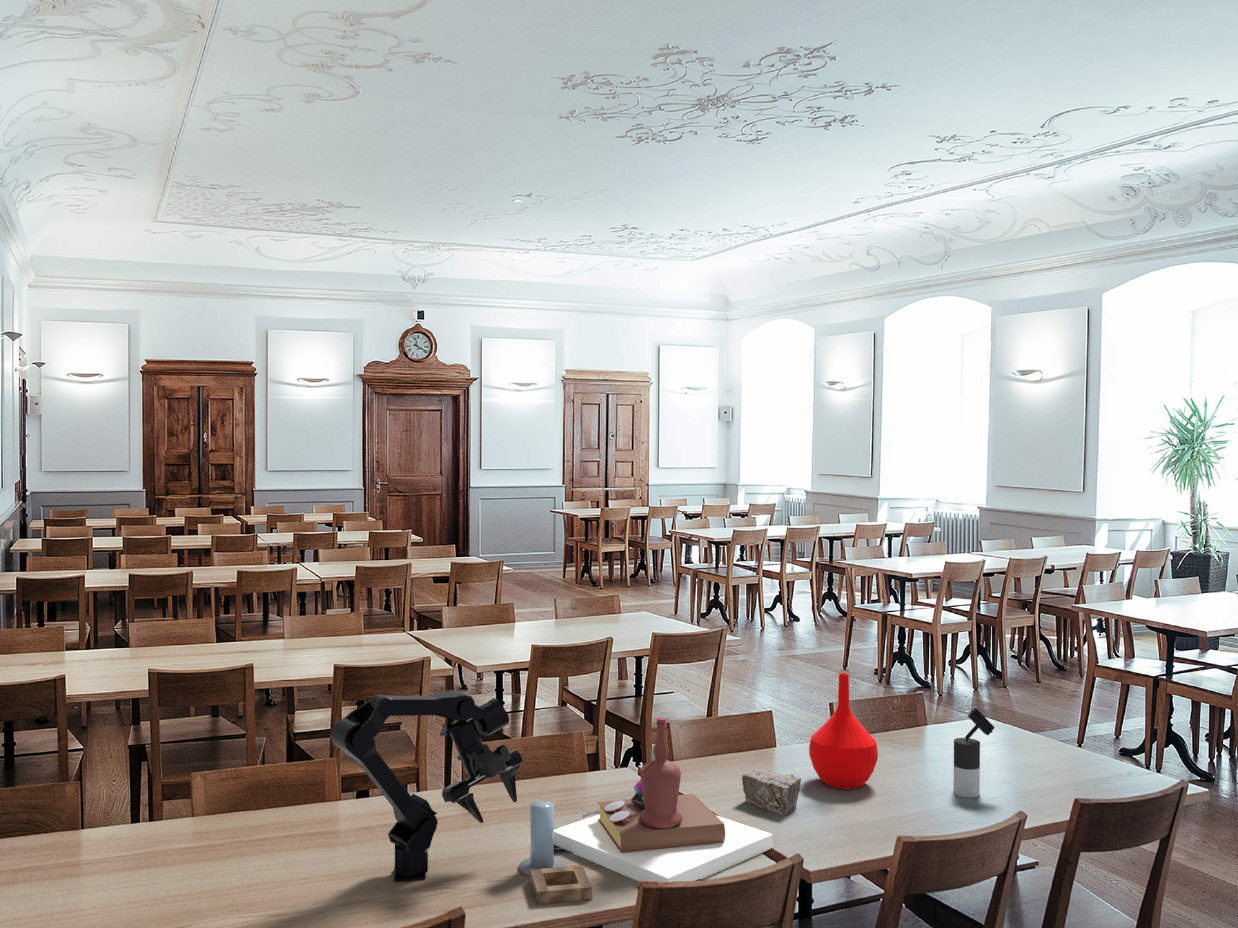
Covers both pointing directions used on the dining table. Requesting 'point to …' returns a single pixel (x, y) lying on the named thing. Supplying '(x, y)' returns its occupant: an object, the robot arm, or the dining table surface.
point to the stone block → (771, 790)
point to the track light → (969, 758)
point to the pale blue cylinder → (542, 835)
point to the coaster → (526, 868)
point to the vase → (843, 746)
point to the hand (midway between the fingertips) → (498, 811)
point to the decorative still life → (661, 829)
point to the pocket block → (560, 892)
